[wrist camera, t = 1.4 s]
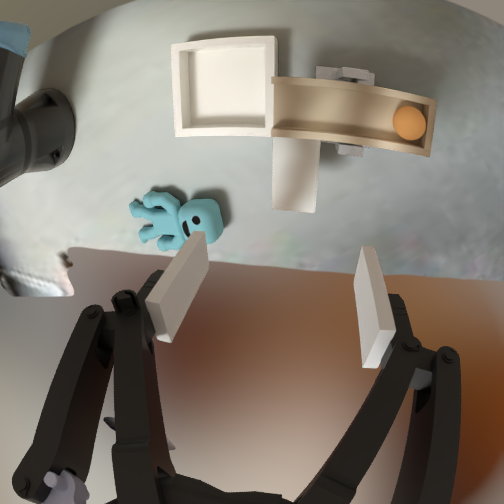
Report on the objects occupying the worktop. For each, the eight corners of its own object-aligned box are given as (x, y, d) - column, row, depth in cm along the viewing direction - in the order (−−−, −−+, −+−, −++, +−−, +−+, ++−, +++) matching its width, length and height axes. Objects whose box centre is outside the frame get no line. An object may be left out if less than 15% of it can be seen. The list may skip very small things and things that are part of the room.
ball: (387, 133, 23) (396, 139, 21) (389, 101, 21) (399, 103, 19) (416, 139, 23) (428, 146, 20) (420, 108, 21) (432, 111, 18)
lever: (272, 206, 31) (269, 216, 28) (274, 77, 23) (271, 76, 21) (406, 220, 28) (412, 231, 26) (426, 98, 21) (436, 100, 19)
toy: (118, 201, 40) (202, 194, 34) (137, 189, 43) (218, 181, 38) (138, 255, 45) (218, 261, 39) (154, 240, 48) (231, 243, 43)
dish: (186, 131, 35) (175, 136, 32) (183, 47, 29) (171, 44, 26) (277, 132, 33) (273, 136, 30) (277, 40, 27) (274, 35, 24)
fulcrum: (313, 140, 33) (314, 156, 26) (315, 66, 28) (317, 59, 21) (395, 151, 31) (417, 170, 24) (402, 79, 26) (427, 79, 19)
